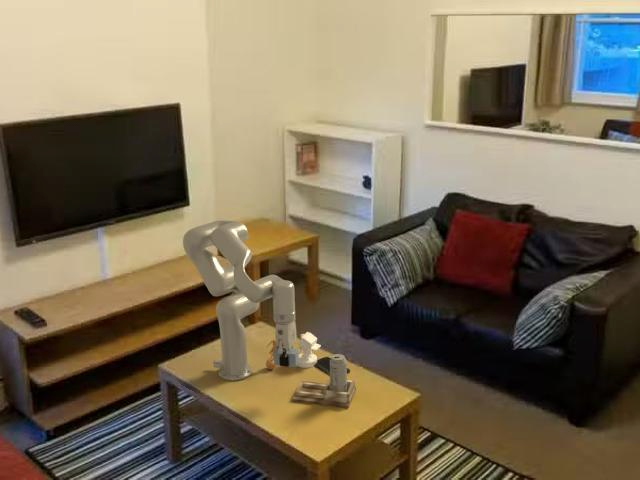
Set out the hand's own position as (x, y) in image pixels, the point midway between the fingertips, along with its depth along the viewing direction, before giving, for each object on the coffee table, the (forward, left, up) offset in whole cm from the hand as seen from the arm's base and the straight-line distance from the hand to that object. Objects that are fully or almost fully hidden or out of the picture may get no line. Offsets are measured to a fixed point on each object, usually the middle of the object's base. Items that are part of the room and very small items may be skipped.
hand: (286, 362), depth 251 cm
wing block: (0, 0, 0) cm, 0 cm away
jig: (+13, +3, -13) cm, 19 cm away
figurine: (-12, +19, -14) cm, 26 cm away
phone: (+10, +24, -14) cm, 29 cm away
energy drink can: (+18, +3, -13) cm, 22 cm away
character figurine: (0, +26, -14) cm, 29 cm away
